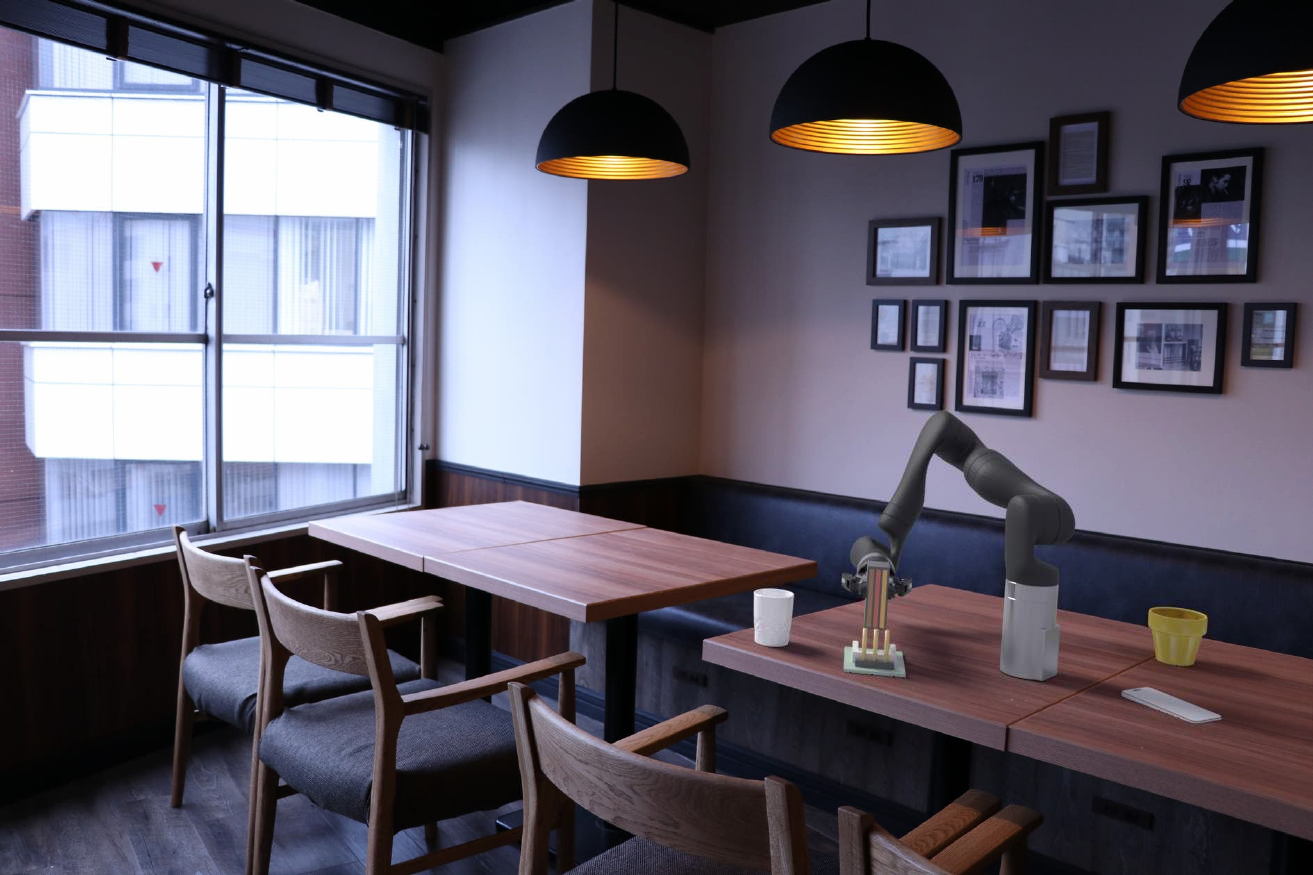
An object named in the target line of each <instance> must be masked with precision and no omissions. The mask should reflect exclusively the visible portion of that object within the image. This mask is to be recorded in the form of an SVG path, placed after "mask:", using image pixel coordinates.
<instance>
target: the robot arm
mask: <svg viewBox="0 0 1313 875" xmlns="http://www.w3.org/2000/svg"><path fill="white" fill-rule="evenodd" d="M910 454H911V455H910V456H909V458H908V461H907V463H906V467H905V468H904V470H903V471H904V472H903V474H902V477H901V479H900V482H899V484H898V485H897V488H896V490H895V491H894V494H893V495H892V496H891V499H890V500H889V501H888V504H887V505H886V506H885V509H884V510H883V512H882V513H881V515H880V517H879V519H878V520H877V525H876V526H877V528H878V529H879V530H880V531H881V533H883V534H884V535H885V536H886V537H887V538H888V540H889V542H890V544H889V545H890V546H889V547H888V546H887V545H885V544H883V543H882V542H880V541H879V540H878V539H876V538H874V537H872V536H868V535H866V536H861V537H859V538H857V540H856V541H855V542H854V543H853V545H852V547H851V549H850V554H849V559H850V562H851V564H852V565H853V567H854V568H855V569H856V574H855V575H854V576H853V574H849V573H847V572H842V574H841V586H842V587H843V589H845V590H847V591H848V592H849V593H856V591H857V592H858V595H859V596H862V598H864V599H865V598H866V595H867V582H866V581H867V564H868V561H879V562H889V565H890V573H889V588H888V601H891V600H892V599H894V598H896V595H897V596H898V597H901V598H903V597H905V596H907V595H908V594H910V593H911V592H912V587H913V585H912V583H913V579H912V578H911V577H906V578H902V579H901V580H899V578H898V577H897V576H896V573H897V571H898V568H899V565H900V561H901V556H902V553H903V548H904V546H905V543H906V540H907V538H908V536H909V534H910V532H911V530H912V528H914V525H915V523H916V522H917V520H918V519H919V517H920V515H921V513H922V510H923V508H924V504H925V498H926V486H927V485H926V484H927V482H926V481H927V473H928V468H929V464H930V462H931V459H932V457H933V456H934V455H936V456H937V458H939V459H940V460H942V461H943V462H946V463H947V464H949V465H950V466H953V467H954V468H955V469H957V470H959V471H961V472H962V473H963V477H964V479H965V482H966V483H967V485H968V486H969V487H970V489H972V490H973V491H974V492H975V493H976V494H977V495H978V496H979V497H980V498H982V499H983V500H984V501H986V502H988V503H989V504H992V505H994V506H996V507H999V508H1003V509H1005V510H1006V511H1005V520H1004V522H1005V526H1004V527H1005V528H1004V534H1005V536H1004V537H1005V538H1004V539H1005V540H1004V541H1005V542H1004V565H1005V572H1006V573H1005V587H1004V599H1003V600H1004V601H1003V602H1004V603H1003V616H1002V617H1003V618H1002V632H1001V646H1000V658H999V660H1000V661H999V662H1000V663H999V670H1000V671H1001V672H1002V673H1004V674H1007V675H1008V676H1011V677H1015V678H1020V679H1025V680H1026V679H1027V680H1036V681H1041V682H1043V681H1047V680H1048V679H1051V678H1053V677H1055V676H1057V675H1058V666H1059V665H1058V664H1059V663H1058V662H1059V650H1060V649H1059V648H1060V636H1061V625H1060V624H1059V623H1057V612H1058V599H1059V584H1060V571H1059V569H1058V568H1057V566H1054V565H1051V564H1049V563H1047V562H1044V561H1042V560H1040V559H1039V558H1037V556H1036V551H1035V546H1057V545H1062V544H1065V543H1066V542H1068V541H1069V540H1070V539H1071V538H1072V537H1073V536H1074V533H1075V531H1076V519H1075V514H1074V511H1073V509H1072V508H1071V506H1070V504H1069V503H1068V502H1067V501H1066V499H1064V498H1063V497H1062V496H1060V495H1059V494H1057V493H1056V492H1053V491H1051V490H1050V489H1048V488H1046V487H1044V486H1043V485H1041V484H1040V483H1038V482H1036V480H1034V479H1033V478H1032V477H1031V476H1029V475H1028V474H1027V473H1025V472H1024V471H1023V470H1021V469H1020V468H1019V467H1017V466H1016V465H1015V464H1014V463H1013V462H1012V461H1011V460H1010V459H1009V458H1008V457H1006V456H1005V455H1003V454H1002V453H1000V452H999V451H997V450H995V449H993V448H988V447H987V446H986V444H984V442H983V441H982V440H981V439H980V437H979V436H978V435H977V433H975V431H974V430H973V429H972V428H971V427H970V426H968V425H967V424H966V423H964V422H963V421H962V420H961V419H959V418H958V417H957V416H956V415H954V414H953V413H952V412H949V411H948V410H940V411H937V412H936V413H934V414H932V415H931V416H930V417H929V418H928V420H927V421H925V423H924V426H923V427H922V429H921V431H920V432H919V435H918V437H917V440H916V442H915V443H914V447H913V449H912V451H911V453H910Z"/></svg>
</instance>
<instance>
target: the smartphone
mask: <svg viewBox="0 0 1313 875" xmlns="http://www.w3.org/2000/svg"><path fill="white" fill-rule="evenodd" d="M1121 696H1122V697H1124V699H1125V698H1126V699H1128V700H1131V701H1134V702H1136V703H1138V704H1141V705H1144V706H1147V707H1149V708H1152V709H1154V710H1156V711H1159V710H1160V712H1162V713H1165V714H1167V713H1168V715H1170V716H1172V715H1173V716H1172V717H1175V718H1178V717H1179V718H1178V719H1181V720H1182V721H1186V722H1187V723H1192V724H1201V723H1202V724H1203V723H1208V722H1214V721H1221V720H1222V719H1223V716H1222V715H1221V714H1219V713H1215V712H1213V711H1211V710H1209V709H1205V708H1203V707H1200V706H1198V705H1195V704H1194V703H1190V702H1188V701H1185V700H1183V699H1181V698H1178V697H1176V696H1172V695H1171V694H1168V693H1165V692H1163V691H1161V690H1159V689H1158V690H1157V689H1155V688H1154V687H1153V688H1152V687H1150V686H1149V687H1148V686H1143V687H1137V688H1129V689H1123V690H1121Z"/></svg>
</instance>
